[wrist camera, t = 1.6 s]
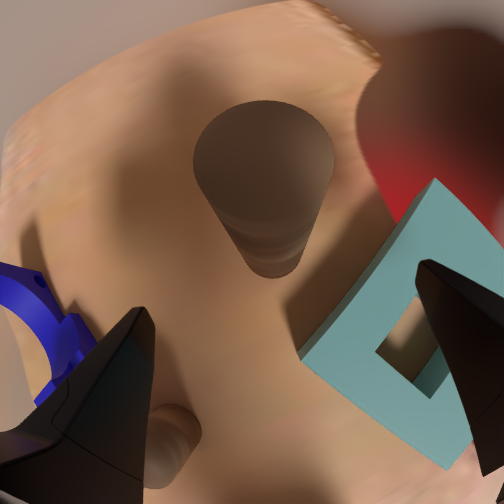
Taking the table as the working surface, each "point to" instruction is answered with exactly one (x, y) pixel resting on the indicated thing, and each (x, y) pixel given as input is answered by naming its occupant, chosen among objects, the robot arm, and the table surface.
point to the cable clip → (45, 322)
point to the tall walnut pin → (265, 180)
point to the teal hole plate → (389, 312)
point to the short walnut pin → (168, 443)
